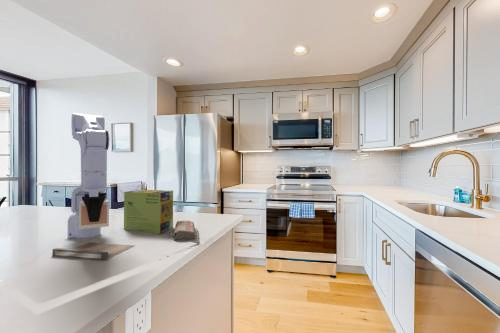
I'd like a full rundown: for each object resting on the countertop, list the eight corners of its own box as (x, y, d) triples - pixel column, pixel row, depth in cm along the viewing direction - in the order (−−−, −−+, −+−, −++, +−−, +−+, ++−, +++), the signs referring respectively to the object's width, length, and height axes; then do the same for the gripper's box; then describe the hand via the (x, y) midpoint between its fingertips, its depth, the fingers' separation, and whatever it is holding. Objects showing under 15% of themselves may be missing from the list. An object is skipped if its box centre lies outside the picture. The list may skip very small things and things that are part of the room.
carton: (80, 225, 71) (80, 201, 71) (108, 222, 75) (108, 199, 75) (78, 229, 67) (79, 203, 67) (108, 226, 70) (108, 201, 70)
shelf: (51, 260, 66) (51, 249, 66) (89, 246, 78) (89, 236, 78) (104, 265, 63) (104, 253, 63) (135, 249, 75) (135, 239, 75)
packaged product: (171, 220, 96) (197, 219, 98) (171, 232, 96) (197, 231, 98) (166, 232, 79) (198, 230, 81) (166, 247, 79) (198, 245, 81)
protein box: (160, 234, 92) (160, 192, 92) (123, 232, 94) (123, 191, 94) (173, 227, 102) (174, 190, 102) (139, 226, 105) (140, 189, 105)
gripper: (80, 171, 75) (80, 216, 75) (75, 172, 62) (74, 226, 62) (107, 171, 78) (107, 214, 78) (107, 172, 66) (107, 223, 66)
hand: (94, 219), depth 71 cm, fingers closed on carton, 5 cm apart
